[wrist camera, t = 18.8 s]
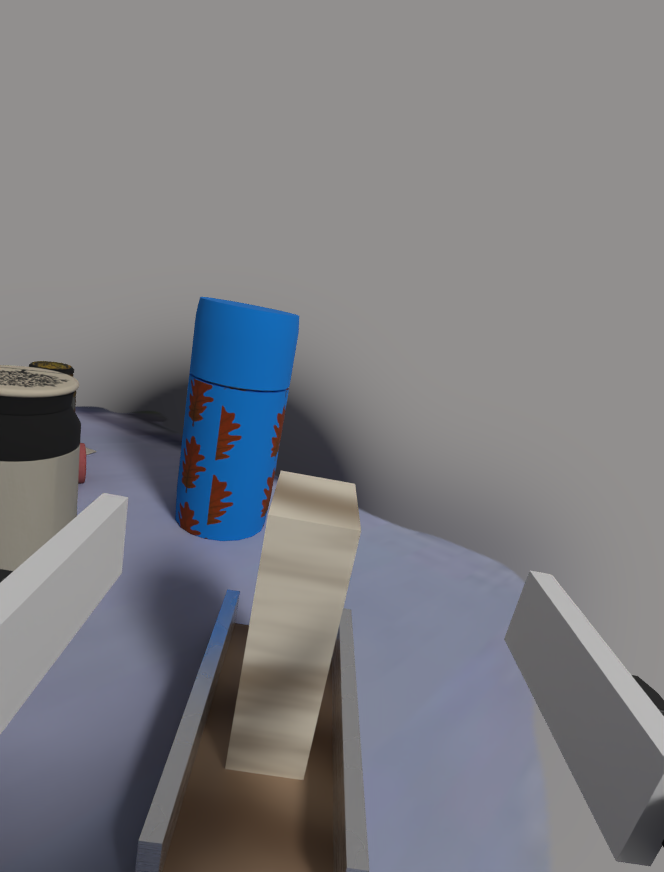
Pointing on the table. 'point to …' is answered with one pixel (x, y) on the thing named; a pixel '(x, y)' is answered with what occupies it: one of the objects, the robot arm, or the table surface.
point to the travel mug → (36, 459)
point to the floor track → (258, 778)
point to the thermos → (233, 417)
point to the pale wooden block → (293, 623)
